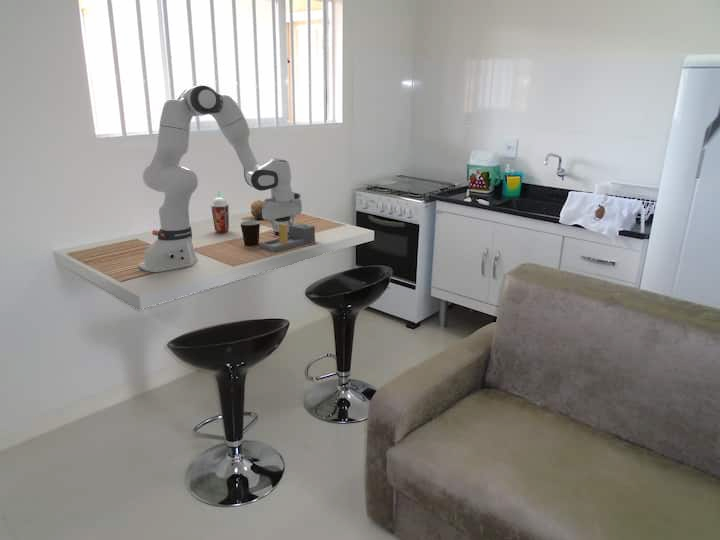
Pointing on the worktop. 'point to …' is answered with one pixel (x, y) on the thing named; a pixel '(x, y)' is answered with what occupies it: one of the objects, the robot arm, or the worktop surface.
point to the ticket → (283, 233)
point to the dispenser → (292, 237)
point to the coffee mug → (250, 232)
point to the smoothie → (220, 214)
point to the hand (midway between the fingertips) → (283, 226)
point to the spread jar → (282, 221)
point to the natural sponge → (257, 209)
